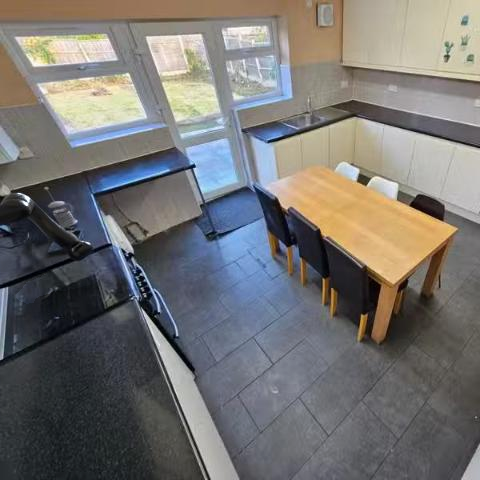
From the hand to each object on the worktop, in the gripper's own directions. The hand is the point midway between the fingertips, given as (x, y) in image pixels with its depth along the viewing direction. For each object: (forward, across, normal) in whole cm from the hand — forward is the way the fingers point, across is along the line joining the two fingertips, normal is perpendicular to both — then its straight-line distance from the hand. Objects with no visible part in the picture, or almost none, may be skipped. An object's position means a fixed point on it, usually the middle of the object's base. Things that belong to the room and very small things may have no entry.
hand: (56, 229), depth 154 cm
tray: (-3, 0, +9) cm, 10 cm away
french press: (+21, -9, +9) cm, 25 cm away
